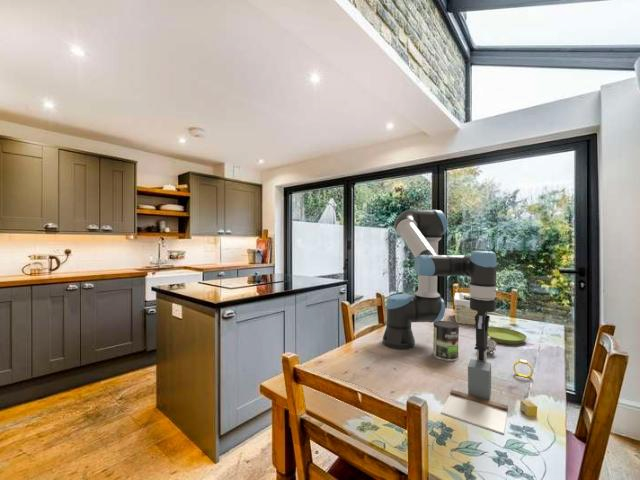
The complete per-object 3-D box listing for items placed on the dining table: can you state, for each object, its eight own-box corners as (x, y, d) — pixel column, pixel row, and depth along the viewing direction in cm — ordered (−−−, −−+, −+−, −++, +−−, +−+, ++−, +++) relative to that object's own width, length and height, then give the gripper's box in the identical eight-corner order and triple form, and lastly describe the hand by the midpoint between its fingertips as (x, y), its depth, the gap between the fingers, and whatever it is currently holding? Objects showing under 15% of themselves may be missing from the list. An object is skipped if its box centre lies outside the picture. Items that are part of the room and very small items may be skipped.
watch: (531, 377, 113) (533, 361, 112) (532, 380, 110) (534, 364, 110) (512, 372, 116) (514, 357, 116) (512, 375, 114) (514, 359, 113)
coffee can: (464, 359, 127) (464, 326, 127) (443, 362, 125) (443, 328, 124) (447, 350, 137) (448, 319, 137) (428, 352, 135) (428, 321, 134)
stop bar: (450, 395, 99) (450, 392, 99) (451, 393, 101) (451, 389, 101) (507, 412, 90) (507, 408, 90) (507, 409, 91) (507, 405, 91)
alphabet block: (529, 409, 91) (529, 400, 91) (537, 416, 88) (537, 405, 88) (519, 410, 91) (520, 400, 91) (527, 416, 88) (527, 406, 88)
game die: (491, 362, 134) (503, 349, 128) (472, 354, 135) (483, 341, 129) (489, 346, 141) (501, 333, 135) (471, 338, 142) (482, 325, 136)
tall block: (468, 397, 98) (467, 366, 96) (470, 388, 102) (470, 358, 100) (489, 403, 95) (489, 371, 93) (491, 394, 99) (491, 363, 97)
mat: (440, 413, 89) (440, 411, 89) (450, 395, 99) (450, 394, 99) (503, 434, 80) (503, 433, 80) (507, 412, 90) (507, 411, 90)
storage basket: (483, 327, 173) (484, 301, 173) (453, 323, 180) (453, 298, 180) (482, 316, 194) (482, 294, 194) (454, 313, 201) (455, 291, 201)
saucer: (472, 338, 155) (472, 332, 155) (487, 329, 168) (487, 324, 168) (519, 350, 139) (519, 343, 139) (531, 339, 153) (531, 333, 153)
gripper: (493, 303, 92) (492, 379, 92) (497, 296, 102) (496, 364, 103) (466, 299, 96) (465, 373, 97) (473, 293, 107) (472, 359, 107)
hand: (481, 368), depth 100 cm, fingers closed
